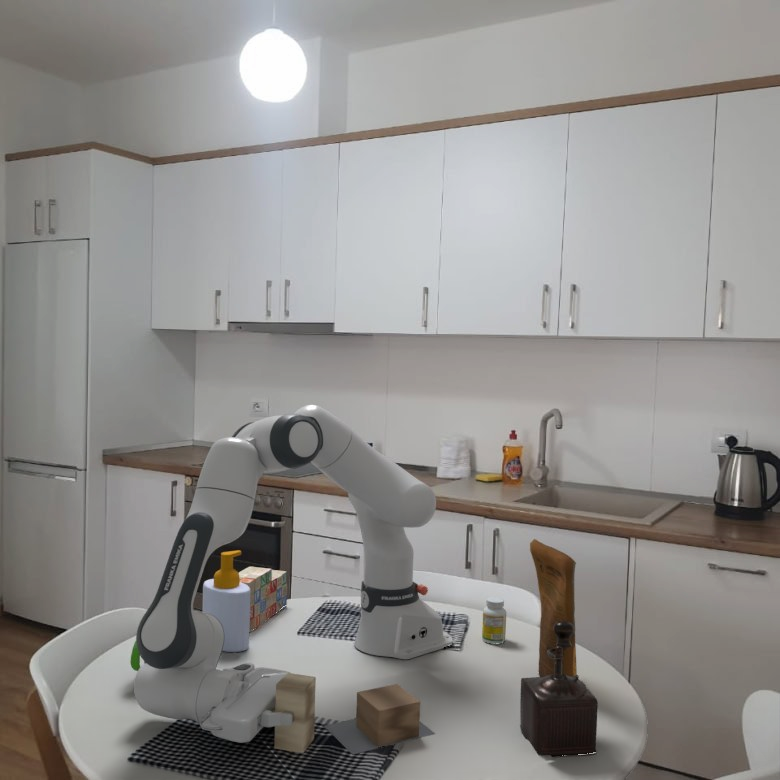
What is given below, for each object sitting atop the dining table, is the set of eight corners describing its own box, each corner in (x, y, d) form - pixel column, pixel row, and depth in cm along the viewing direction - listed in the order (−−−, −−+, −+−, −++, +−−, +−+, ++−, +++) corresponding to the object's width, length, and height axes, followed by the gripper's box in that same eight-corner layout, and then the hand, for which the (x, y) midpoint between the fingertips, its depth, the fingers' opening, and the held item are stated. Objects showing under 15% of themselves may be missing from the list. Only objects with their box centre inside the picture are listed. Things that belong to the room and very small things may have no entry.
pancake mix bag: (553, 704, 150) (559, 558, 149) (522, 665, 169) (528, 535, 168) (587, 703, 151) (593, 558, 150) (553, 664, 170) (558, 535, 169)
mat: (402, 709, 146) (402, 707, 146) (435, 735, 137) (435, 733, 137) (323, 727, 138) (323, 725, 138) (352, 756, 129) (352, 754, 129)
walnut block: (395, 716, 142) (396, 683, 142) (419, 735, 135) (420, 701, 135) (356, 725, 138) (357, 692, 138) (378, 746, 132) (379, 710, 131)
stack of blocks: (264, 604, 205) (265, 557, 204) (287, 607, 203) (288, 559, 202) (223, 631, 184) (224, 578, 184) (247, 634, 183) (248, 581, 182)
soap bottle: (258, 646, 175) (261, 555, 174) (228, 656, 169) (230, 562, 168) (222, 631, 184) (224, 544, 183) (192, 640, 177) (193, 550, 177)
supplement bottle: (497, 646, 179) (498, 604, 179) (477, 640, 183) (478, 599, 182) (509, 640, 183) (511, 599, 183) (490, 634, 187) (491, 594, 186)
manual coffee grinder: (601, 755, 132) (606, 648, 131) (537, 758, 130) (541, 650, 129) (567, 712, 147) (571, 617, 146) (509, 715, 145) (513, 618, 145)
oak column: (286, 736, 135) (287, 672, 134) (313, 741, 133) (315, 676, 133) (274, 750, 130) (276, 684, 129) (302, 755, 129) (304, 688, 128)
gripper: (193, 706, 125) (275, 719, 121) (250, 658, 144) (322, 669, 141) (193, 745, 125) (274, 760, 121) (249, 692, 145) (321, 703, 141)
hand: (300, 710), depth 131 cm, fingers closed on oak column, 5 cm apart
